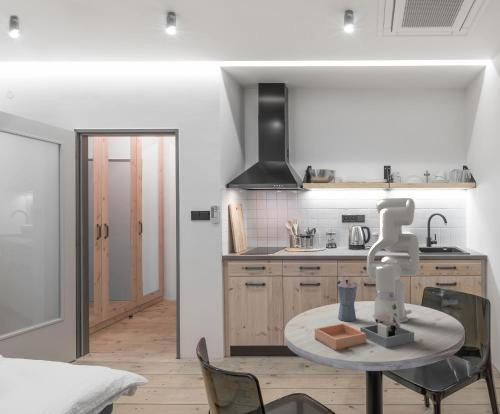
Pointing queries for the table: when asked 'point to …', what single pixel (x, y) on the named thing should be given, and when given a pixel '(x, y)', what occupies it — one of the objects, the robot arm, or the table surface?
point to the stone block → (383, 329)
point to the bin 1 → (339, 336)
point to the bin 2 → (400, 338)
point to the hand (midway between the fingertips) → (386, 337)
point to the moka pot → (346, 301)
